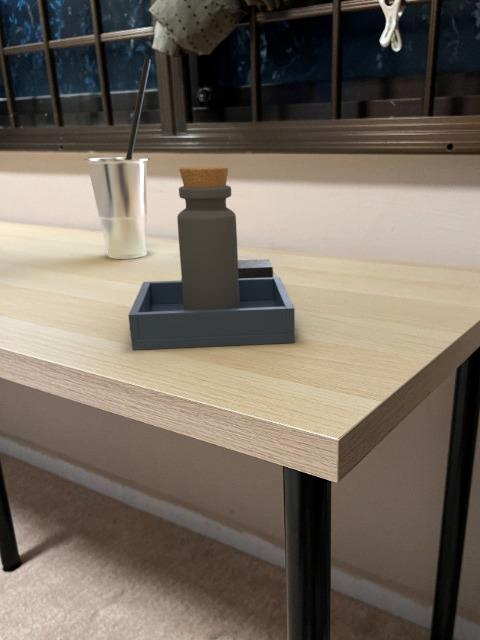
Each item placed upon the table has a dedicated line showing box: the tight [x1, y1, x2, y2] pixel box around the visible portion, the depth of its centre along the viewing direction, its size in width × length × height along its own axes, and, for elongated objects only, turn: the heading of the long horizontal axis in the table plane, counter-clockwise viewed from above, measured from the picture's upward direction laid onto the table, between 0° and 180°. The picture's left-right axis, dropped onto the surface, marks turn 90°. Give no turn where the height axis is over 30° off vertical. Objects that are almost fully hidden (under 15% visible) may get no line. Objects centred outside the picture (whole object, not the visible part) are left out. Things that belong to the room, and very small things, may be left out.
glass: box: [83, 57, 151, 260], centre depth 97 cm, size 11×11×30 cm
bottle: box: [176, 165, 240, 310], centre depth 62 cm, size 6×6×15 cm
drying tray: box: [128, 276, 296, 351], centre depth 64 cm, size 16×14×4 cm
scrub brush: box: [180, 258, 277, 281], centre depth 78 cm, size 12×6×4 cm, turn 97°
